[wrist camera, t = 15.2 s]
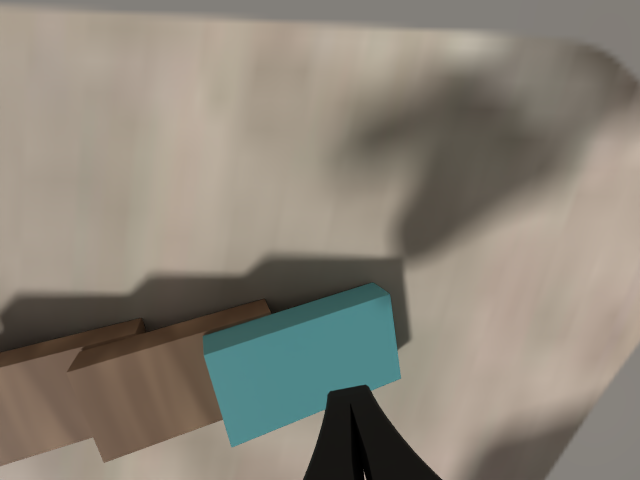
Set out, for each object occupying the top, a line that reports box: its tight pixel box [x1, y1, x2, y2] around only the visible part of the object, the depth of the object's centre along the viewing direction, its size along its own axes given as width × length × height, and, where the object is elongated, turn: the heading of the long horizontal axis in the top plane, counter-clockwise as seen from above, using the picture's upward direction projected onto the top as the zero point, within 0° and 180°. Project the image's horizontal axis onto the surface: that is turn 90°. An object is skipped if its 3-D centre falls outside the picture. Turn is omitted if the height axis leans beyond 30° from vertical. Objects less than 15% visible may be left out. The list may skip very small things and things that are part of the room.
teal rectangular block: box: [203, 283, 401, 447], centre depth 16 cm, size 2×4×8 cm
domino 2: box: [66, 299, 271, 463], centre depth 16 cm, size 2×4×8 cm
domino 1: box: [0, 318, 146, 466], centre depth 16 cm, size 2×4×8 cm
